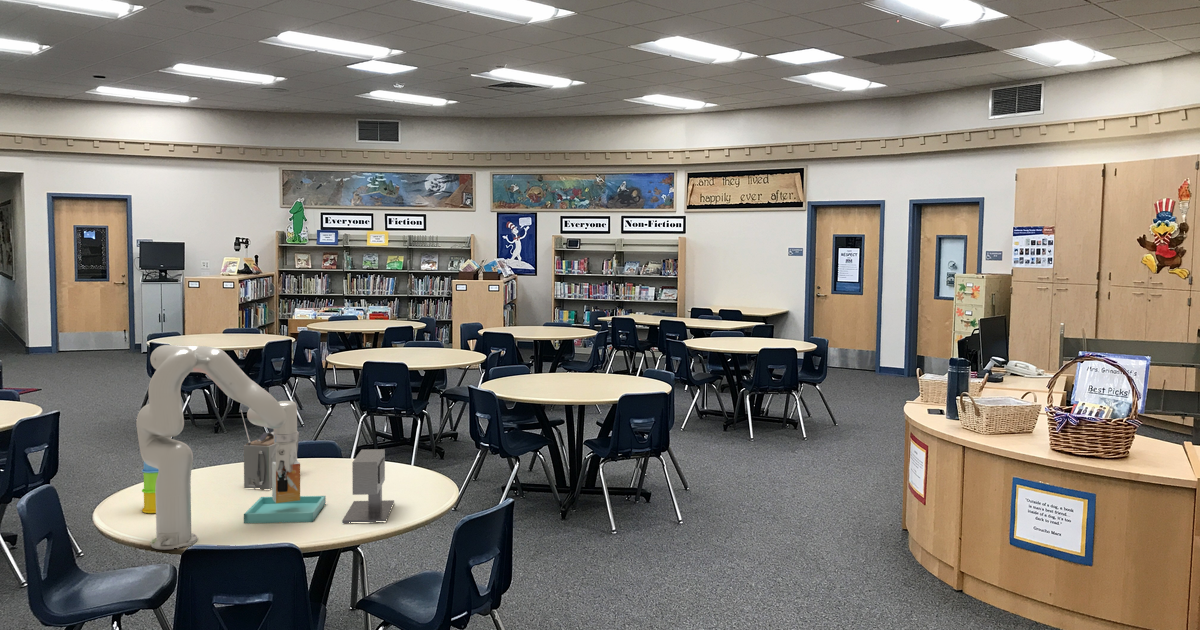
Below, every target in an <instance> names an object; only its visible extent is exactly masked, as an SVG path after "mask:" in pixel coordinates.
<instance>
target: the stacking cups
mask: <svg viewBox="0 0 1200 630" xmlns="http://www.w3.org/2000/svg"><path fill="white" fill-rule="evenodd" d="M141 472H142V473H143V488H142V489H141V492H142V493H143V507H142V509H141V512H142V513H145V514H156V495H155V487H156V480H157V476H158V472H159V469H157V468H154V467H151V466H149V465H147V464H146V463H145V462H144V461H143V468H142V469H141Z"/></svg>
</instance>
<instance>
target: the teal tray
mask: <svg viewBox="0 0 1200 630" xmlns="http://www.w3.org/2000/svg"><path fill="white" fill-rule="evenodd" d="M326 497H327V496H326V495H300V501H291V502H282V503H275V501H274V500H273V499H272V496H260V497H259V499H258V500H256V501H255V502H254V503H253V504H252V505H251V506H250V508H248V509H247V511H246V512H244V513H243V524H267V523H269V524H270V523H271V524H274V523H275V524H276V523H279V522H282V523H313V522H314V521H315V520H316V518H317V517H318V516H319V514H320V513H321V511H322V510H323V509H324V507H325V506H324V505H326V504H325V503H326V502H327V501H326V500H327V498H326ZM323 506H324V507H323ZM321 509H322V510H321ZM319 512H320V513H319ZM314 519H315V520H314Z"/></svg>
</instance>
